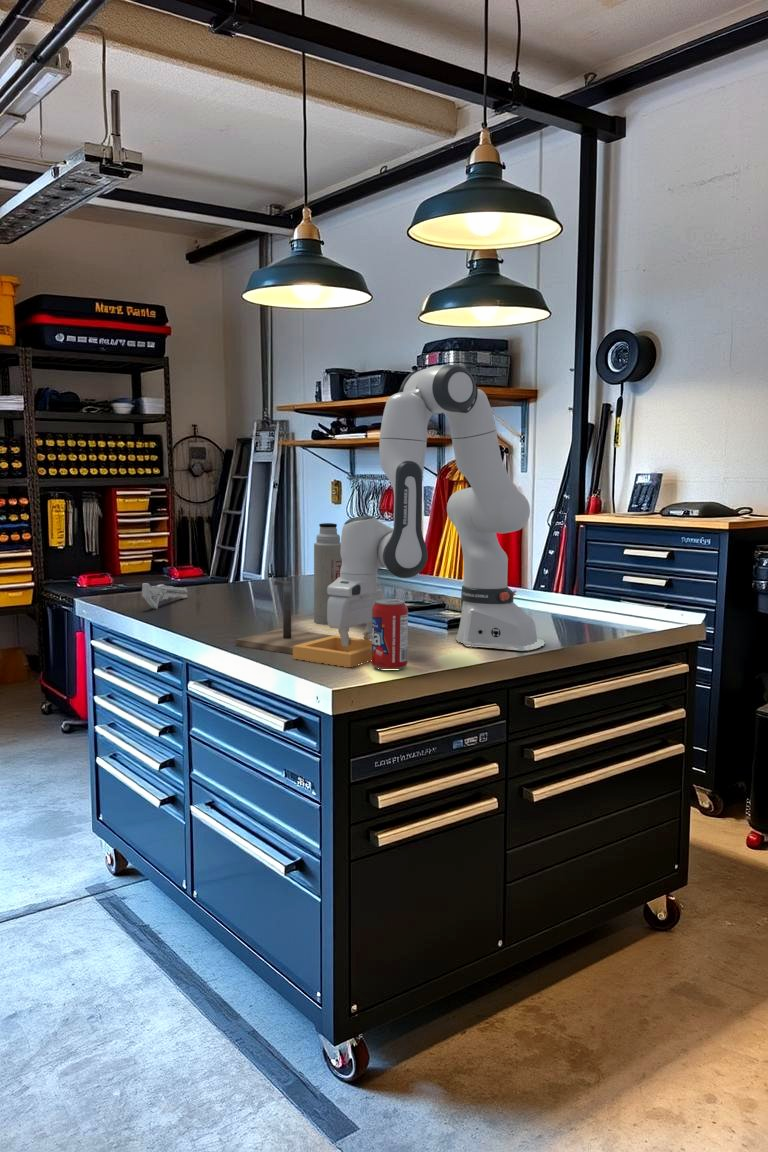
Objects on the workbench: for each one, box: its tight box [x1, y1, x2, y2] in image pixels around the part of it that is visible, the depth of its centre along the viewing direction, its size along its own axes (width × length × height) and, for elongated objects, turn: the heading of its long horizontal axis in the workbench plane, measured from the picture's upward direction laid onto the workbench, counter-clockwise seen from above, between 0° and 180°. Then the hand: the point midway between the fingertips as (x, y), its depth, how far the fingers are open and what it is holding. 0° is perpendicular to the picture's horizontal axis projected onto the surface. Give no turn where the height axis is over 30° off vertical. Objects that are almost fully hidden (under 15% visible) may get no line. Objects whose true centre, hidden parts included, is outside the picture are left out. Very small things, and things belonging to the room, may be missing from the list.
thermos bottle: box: [313, 522, 342, 625], centre depth 250 cm, size 8×8×28 cm
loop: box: [292, 635, 372, 668], centre depth 206 cm, size 16×16×3 cm
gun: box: [141, 582, 188, 610], centre depth 279 cm, size 2×30×8 cm, turn 169°
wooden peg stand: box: [235, 580, 333, 655], centre depth 220 cm, size 18×18×16 cm
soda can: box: [371, 598, 409, 670], centre depth 194 cm, size 8×8×15 cm
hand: (357, 642), depth 211 cm, fingers open, 8 cm apart
